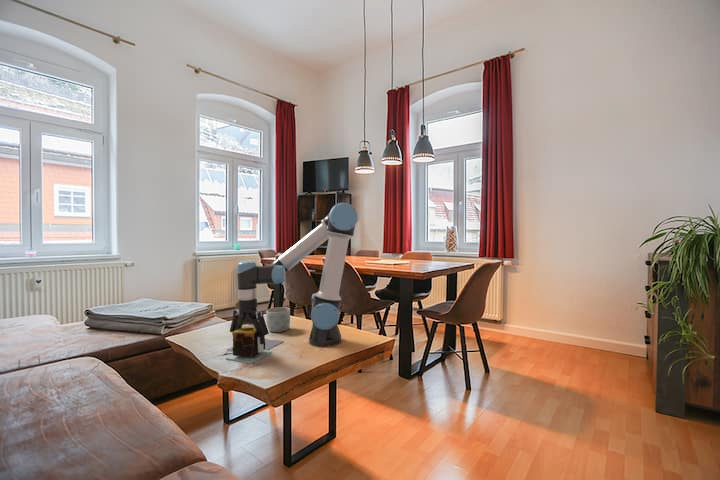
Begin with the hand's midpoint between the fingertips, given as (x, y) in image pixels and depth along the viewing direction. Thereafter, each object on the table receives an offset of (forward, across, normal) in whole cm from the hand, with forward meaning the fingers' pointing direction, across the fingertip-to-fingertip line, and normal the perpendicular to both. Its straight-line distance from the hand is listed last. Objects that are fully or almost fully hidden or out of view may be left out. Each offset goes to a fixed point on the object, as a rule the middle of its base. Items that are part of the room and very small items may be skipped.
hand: (249, 350), depth 150 cm
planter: (+3, +11, -37) cm, 39 cm away
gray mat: (+2, +6, -12) cm, 14 cm away
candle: (+1, 0, 0) cm, 1 cm away
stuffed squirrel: (+3, +40, -46) cm, 60 cm away
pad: (+2, 0, 0) cm, 2 cm away
